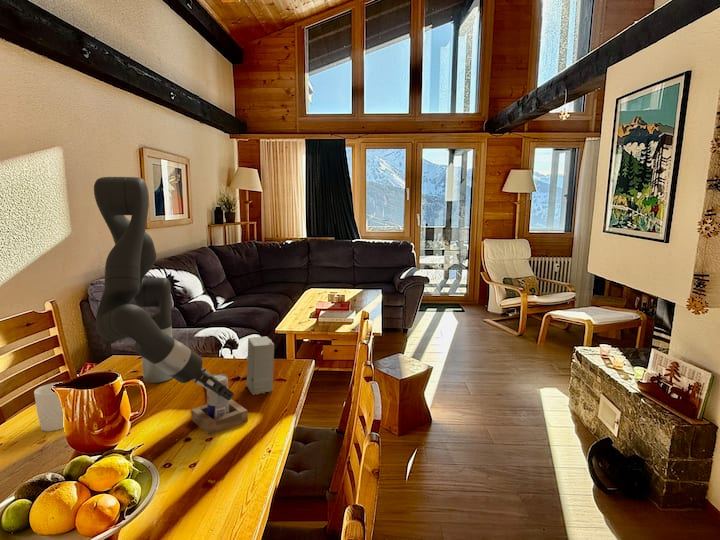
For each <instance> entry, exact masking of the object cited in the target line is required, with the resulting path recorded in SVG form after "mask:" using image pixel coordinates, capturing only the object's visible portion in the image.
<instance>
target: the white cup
mask: <svg viewBox="0 0 720 540" xmlns="http://www.w3.org/2000/svg"><path fill="white" fill-rule="evenodd" d="M63 382H64V381H59V382H51V383H48V384H45V385H42V386H39V387H38V388H36V389H35V390H34V391H33V394H34V400H35V407H36V413H37V418H38V420H39V427H40V430H41V431H43V430H44V431H43V432H54V431H53V430H56V431H60V430H62V429H64V428H63V411H62V407H61V404H60V401H59V398H58V396H57V394H56V393H55V392H53V391H52V390H51V386H53V385H55V384H59V383H63ZM59 429H60V430H59Z"/></svg>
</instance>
